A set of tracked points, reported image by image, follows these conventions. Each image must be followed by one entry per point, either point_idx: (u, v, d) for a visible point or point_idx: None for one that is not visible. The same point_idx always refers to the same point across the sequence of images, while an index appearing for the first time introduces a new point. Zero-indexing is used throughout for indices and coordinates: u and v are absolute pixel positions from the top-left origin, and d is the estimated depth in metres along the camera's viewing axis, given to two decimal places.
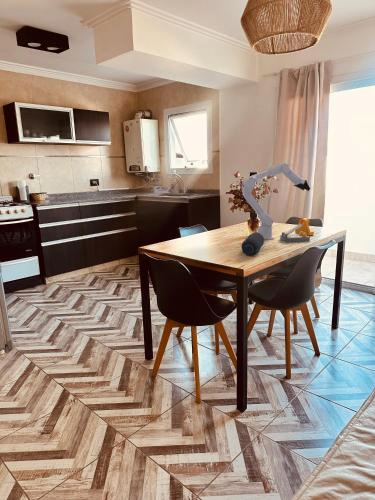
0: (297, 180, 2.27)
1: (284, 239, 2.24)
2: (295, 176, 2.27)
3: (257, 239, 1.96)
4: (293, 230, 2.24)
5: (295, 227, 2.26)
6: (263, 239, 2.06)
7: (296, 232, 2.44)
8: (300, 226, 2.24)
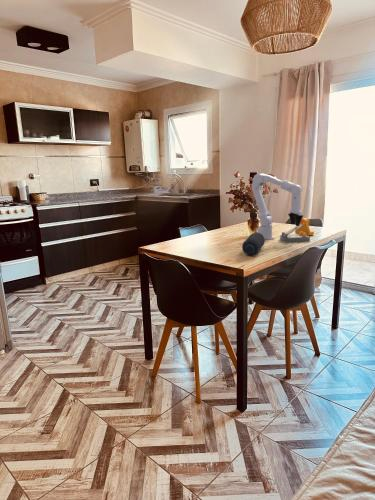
0: (296, 209, 2.20)
1: (284, 239, 2.24)
2: (298, 205, 2.19)
3: (258, 239, 1.96)
4: (293, 230, 2.24)
5: (295, 227, 2.26)
6: (264, 239, 2.06)
7: (296, 232, 2.44)
8: (300, 226, 2.24)
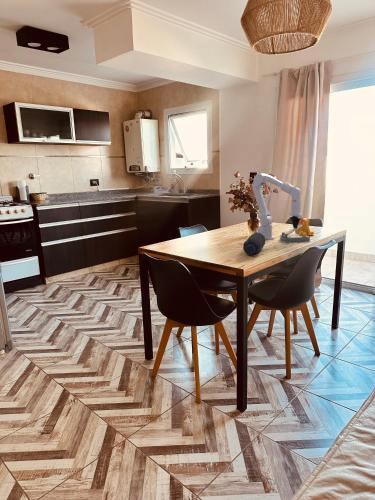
0: (296, 212, 2.20)
1: (284, 239, 2.24)
2: (298, 208, 2.19)
3: (259, 239, 1.96)
4: (293, 230, 2.24)
5: None
6: (264, 239, 2.06)
7: (296, 232, 2.44)
8: (300, 226, 2.24)
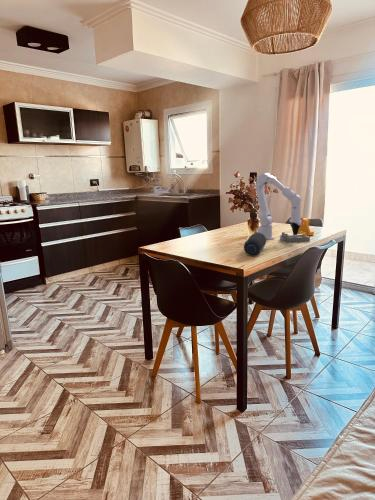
0: (296, 219, 2.21)
1: (284, 239, 2.24)
2: (298, 215, 2.21)
3: (259, 239, 1.96)
4: (294, 235, 2.25)
5: (297, 234, 2.27)
6: (265, 239, 2.06)
7: None
8: (302, 235, 2.25)
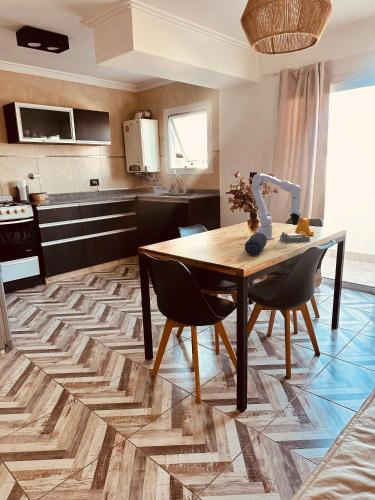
0: (296, 209, 2.20)
1: (284, 239, 2.24)
2: (298, 205, 2.19)
3: (260, 239, 1.96)
4: (294, 235, 2.25)
5: (297, 234, 2.27)
6: (266, 239, 2.06)
7: (296, 232, 2.44)
8: (302, 235, 2.25)
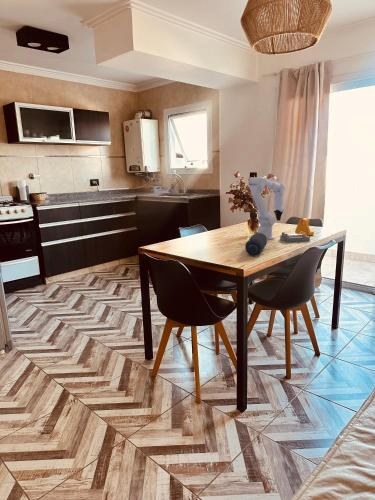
0: (279, 206, 2.39)
1: (284, 239, 2.24)
2: (280, 202, 2.38)
3: (261, 239, 1.96)
4: (294, 235, 2.25)
5: (297, 234, 2.27)
6: (266, 239, 2.06)
7: (296, 232, 2.44)
8: (302, 235, 2.25)
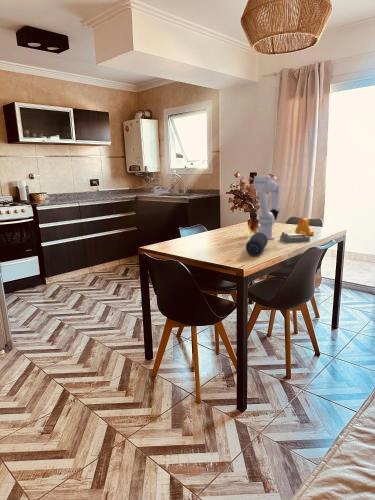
0: (275, 206, 2.42)
1: (284, 239, 2.24)
2: (276, 201, 2.42)
3: (261, 239, 1.95)
4: (294, 235, 2.25)
5: (297, 234, 2.27)
6: (267, 239, 2.06)
7: (296, 232, 2.44)
8: (302, 235, 2.25)
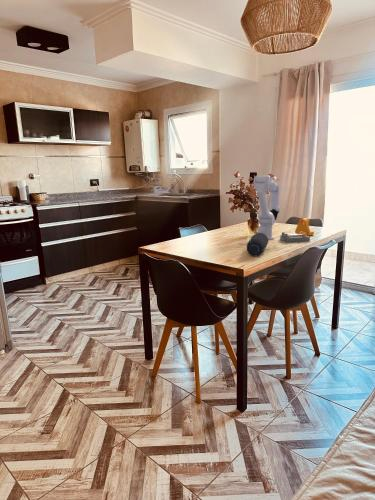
0: (275, 206, 2.42)
1: (284, 239, 2.24)
2: (276, 201, 2.42)
3: (262, 239, 1.95)
4: (294, 235, 2.25)
5: (297, 234, 2.27)
6: (267, 239, 2.06)
7: (296, 232, 2.44)
8: (302, 235, 2.25)
